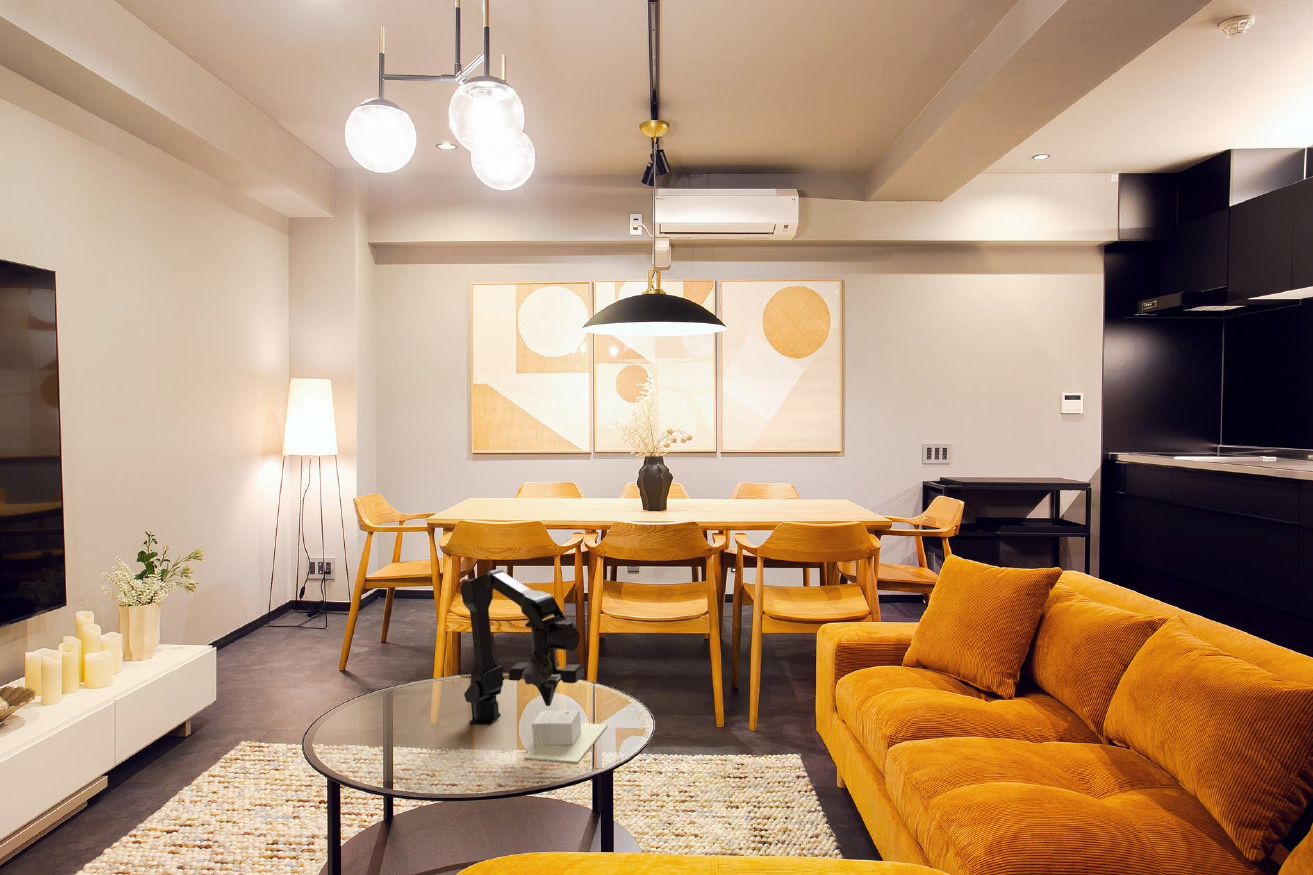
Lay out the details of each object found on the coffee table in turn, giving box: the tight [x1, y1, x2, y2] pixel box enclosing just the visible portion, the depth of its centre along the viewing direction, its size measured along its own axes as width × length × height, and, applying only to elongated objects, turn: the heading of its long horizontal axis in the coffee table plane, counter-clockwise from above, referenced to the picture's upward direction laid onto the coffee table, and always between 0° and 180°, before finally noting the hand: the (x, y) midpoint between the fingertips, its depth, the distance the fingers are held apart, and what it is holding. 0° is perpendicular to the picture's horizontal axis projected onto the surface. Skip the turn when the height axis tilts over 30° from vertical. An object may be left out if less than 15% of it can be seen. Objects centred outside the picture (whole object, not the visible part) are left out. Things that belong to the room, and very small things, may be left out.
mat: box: [524, 722, 609, 764], centre depth 181 cm, size 14×20×1 cm
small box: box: [531, 710, 582, 746], centre depth 182 cm, size 8×6×10 cm
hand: (548, 705), depth 182 cm, fingers closed
